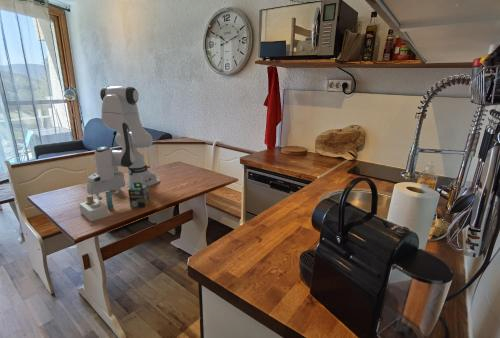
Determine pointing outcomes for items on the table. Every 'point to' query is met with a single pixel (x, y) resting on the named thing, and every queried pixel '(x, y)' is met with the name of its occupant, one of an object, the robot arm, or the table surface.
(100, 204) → the hole block
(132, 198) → the chalk box
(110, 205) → the teal dowel
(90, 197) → the beech dowel
